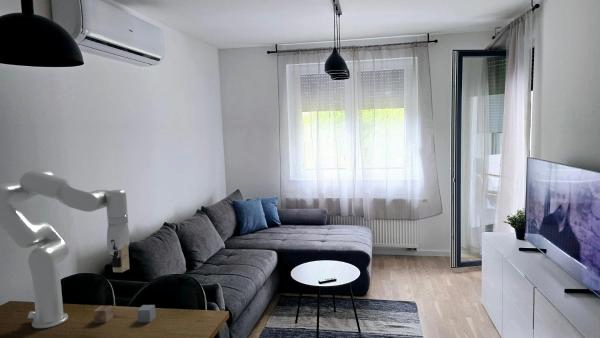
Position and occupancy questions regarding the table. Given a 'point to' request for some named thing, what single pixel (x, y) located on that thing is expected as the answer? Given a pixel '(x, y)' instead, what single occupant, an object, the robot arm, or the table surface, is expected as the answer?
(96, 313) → the tan cube
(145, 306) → the grey cube
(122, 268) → the box
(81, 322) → the table surface
